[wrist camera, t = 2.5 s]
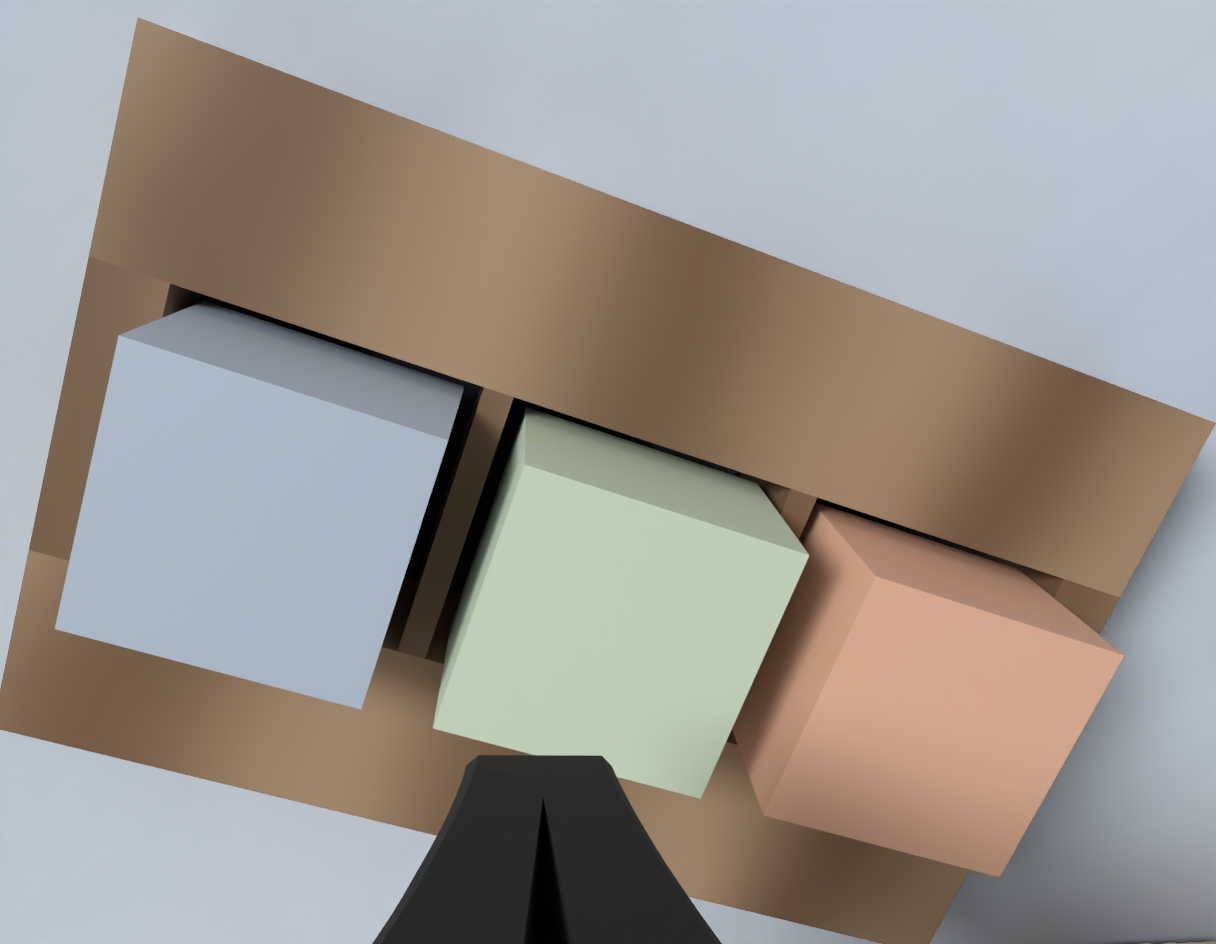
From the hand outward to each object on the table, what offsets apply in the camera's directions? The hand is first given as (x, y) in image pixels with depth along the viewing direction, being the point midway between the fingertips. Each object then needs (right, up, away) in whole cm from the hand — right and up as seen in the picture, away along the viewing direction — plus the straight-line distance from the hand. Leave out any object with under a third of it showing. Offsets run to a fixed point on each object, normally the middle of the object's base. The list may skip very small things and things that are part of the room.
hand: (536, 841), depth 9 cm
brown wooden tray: (0, +3, +10) cm, 10 cm away
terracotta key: (+6, 0, +9) cm, 11 cm away
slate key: (-5, +4, +7) cm, 9 cm away
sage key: (+1, +2, +8) cm, 8 cm away
